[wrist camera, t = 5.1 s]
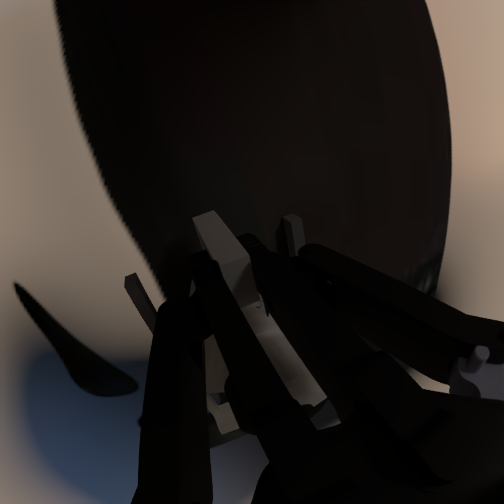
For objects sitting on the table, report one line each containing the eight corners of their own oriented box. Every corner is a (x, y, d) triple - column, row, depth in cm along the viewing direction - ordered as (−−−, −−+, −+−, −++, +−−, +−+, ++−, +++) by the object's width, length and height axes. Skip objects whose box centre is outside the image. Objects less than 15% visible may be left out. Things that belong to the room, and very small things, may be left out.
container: (256, 329, 28) (317, 430, 17) (183, 331, 25) (221, 454, 14) (277, 264, 25) (367, 364, 14) (194, 258, 22) (250, 390, 11)
